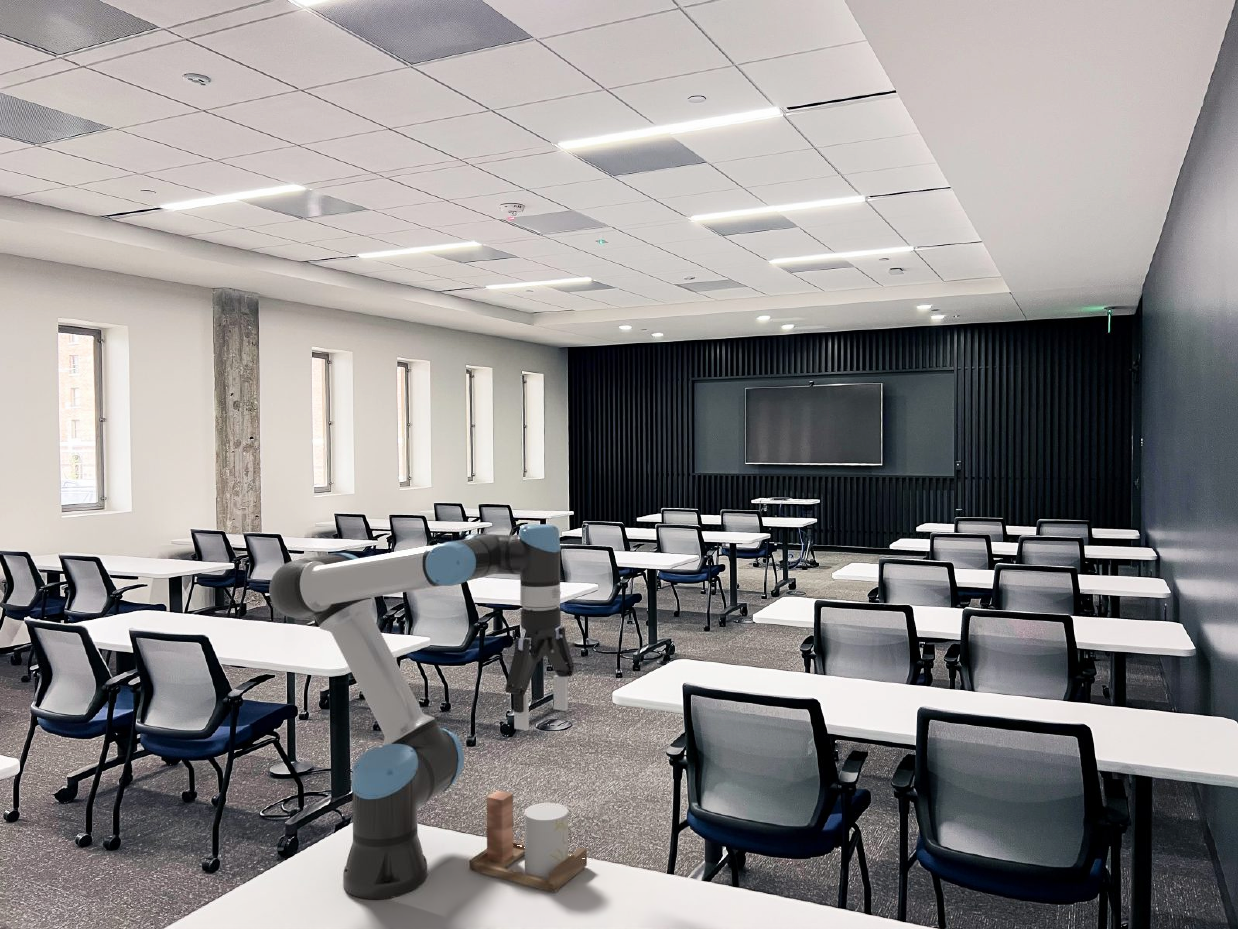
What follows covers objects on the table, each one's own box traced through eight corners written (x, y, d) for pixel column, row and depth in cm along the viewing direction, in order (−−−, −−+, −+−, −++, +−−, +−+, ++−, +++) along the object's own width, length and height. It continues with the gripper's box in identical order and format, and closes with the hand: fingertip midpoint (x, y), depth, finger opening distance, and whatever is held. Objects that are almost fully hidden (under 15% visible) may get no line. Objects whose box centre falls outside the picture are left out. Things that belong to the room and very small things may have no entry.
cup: (562, 887, 164) (562, 821, 163) (519, 883, 165) (519, 818, 165) (572, 866, 172) (572, 804, 171) (531, 863, 173) (530, 801, 173)
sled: (469, 869, 169) (469, 803, 169) (505, 845, 180) (505, 782, 180) (554, 892, 161) (553, 822, 160) (586, 865, 171) (586, 799, 171)
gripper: (520, 619, 156) (521, 741, 157) (590, 598, 178) (591, 704, 179) (484, 616, 160) (486, 735, 160) (558, 595, 182) (559, 700, 182)
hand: (541, 719), depth 169 cm, fingers open, 13 cm apart
